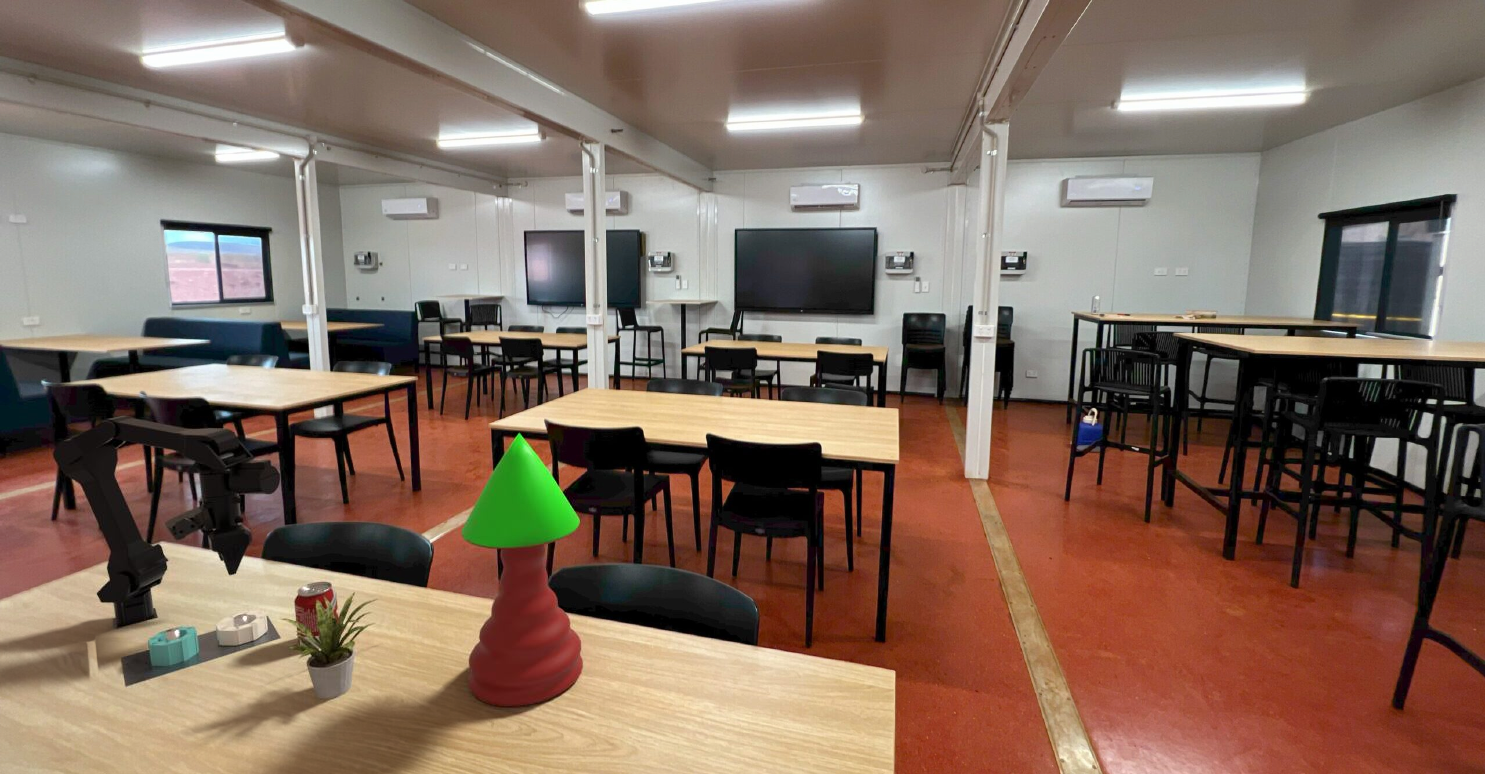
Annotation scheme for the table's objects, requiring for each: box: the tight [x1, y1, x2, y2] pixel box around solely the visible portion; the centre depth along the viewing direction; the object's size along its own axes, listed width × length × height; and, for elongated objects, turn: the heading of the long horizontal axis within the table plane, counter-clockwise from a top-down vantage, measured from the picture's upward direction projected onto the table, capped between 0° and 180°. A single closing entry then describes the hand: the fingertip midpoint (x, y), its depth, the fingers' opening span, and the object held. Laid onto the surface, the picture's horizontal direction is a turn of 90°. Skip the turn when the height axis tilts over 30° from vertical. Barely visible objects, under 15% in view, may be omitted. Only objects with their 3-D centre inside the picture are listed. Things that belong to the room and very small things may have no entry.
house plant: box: [279, 592, 378, 700], centre depth 112 cm, size 14×14×16 cm
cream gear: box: [215, 610, 268, 646], centre depth 127 cm, size 8×8×3 cm
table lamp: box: [460, 432, 584, 707], centre depth 115 cm, size 20×20×45 cm
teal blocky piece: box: [147, 625, 199, 666], centre depth 119 cm, size 7×7×4 cm
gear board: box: [120, 614, 282, 687], centre depth 122 cm, size 12×22×6 cm, turn 136°
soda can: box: [293, 581, 339, 650], centre depth 125 cm, size 7×7×12 cm
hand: (228, 567), depth 132 cm, fingers open, 9 cm apart
